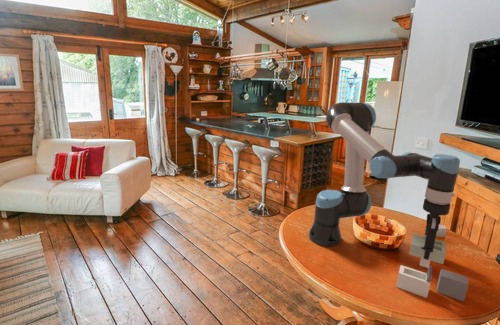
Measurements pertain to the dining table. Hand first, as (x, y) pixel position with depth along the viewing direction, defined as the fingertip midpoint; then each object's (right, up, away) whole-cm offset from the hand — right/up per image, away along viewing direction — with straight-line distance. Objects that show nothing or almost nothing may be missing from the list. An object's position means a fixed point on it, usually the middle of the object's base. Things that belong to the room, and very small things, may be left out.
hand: (424, 259), depth 102 cm
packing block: (+11, -13, +3) cm, 17 cm away
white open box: (-2, -12, +5) cm, 13 cm away
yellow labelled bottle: (+18, -8, +25) cm, 32 cm away
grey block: (0, +2, -1) cm, 3 cm away
